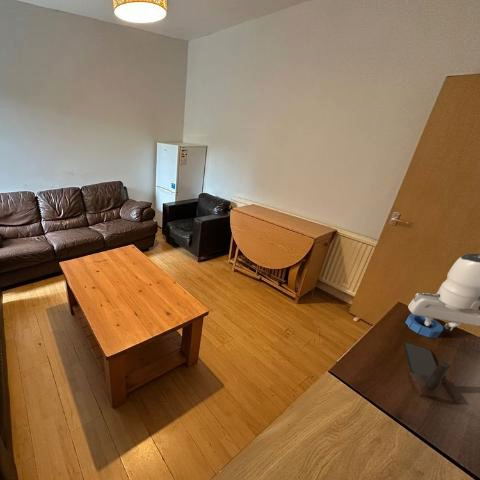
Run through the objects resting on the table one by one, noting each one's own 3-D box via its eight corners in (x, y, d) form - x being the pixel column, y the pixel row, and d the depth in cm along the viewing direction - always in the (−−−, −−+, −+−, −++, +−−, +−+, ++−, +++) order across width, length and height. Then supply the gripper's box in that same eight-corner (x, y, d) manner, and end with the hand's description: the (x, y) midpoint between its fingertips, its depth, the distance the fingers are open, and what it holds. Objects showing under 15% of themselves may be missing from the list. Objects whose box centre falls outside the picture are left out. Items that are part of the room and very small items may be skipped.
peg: (436, 382, 76) (453, 357, 72) (451, 404, 70) (471, 379, 66) (407, 375, 78) (422, 351, 74) (419, 396, 72) (436, 371, 68)
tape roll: (430, 322, 98) (433, 316, 97) (445, 340, 90) (449, 334, 89) (401, 316, 101) (404, 311, 99) (413, 334, 93) (416, 328, 91)
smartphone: (431, 350, 86) (445, 384, 75) (430, 352, 86) (443, 386, 75) (403, 340, 90) (411, 372, 78) (402, 342, 90) (410, 374, 79)
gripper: (422, 296, 88) (406, 326, 94) (502, 309, 82) (479, 340, 88) (413, 286, 93) (398, 315, 99) (487, 297, 87) (467, 327, 93)
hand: (437, 327), depth 93 cm, fingers open, 4 cm apart
